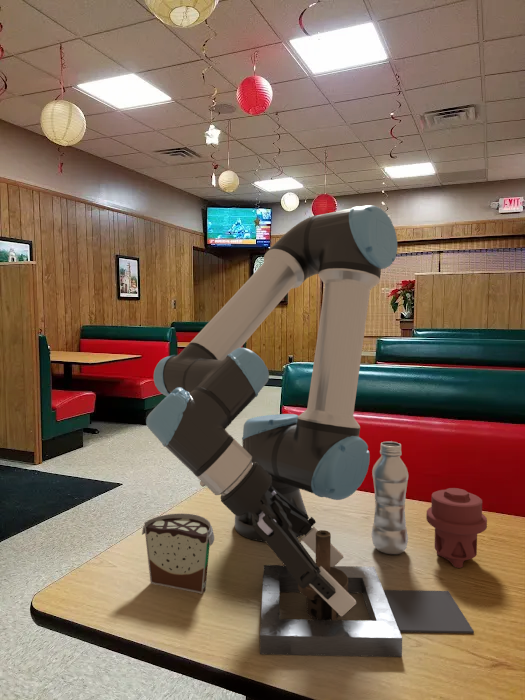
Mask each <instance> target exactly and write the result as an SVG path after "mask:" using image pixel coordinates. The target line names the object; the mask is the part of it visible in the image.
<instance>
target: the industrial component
mask: <svg viewBox="0 0 525 700" xmlns="http://www.w3.org/2000/svg"><path fill="white" fill-rule="evenodd" d="M331 538H332V537H331V532H330V531H328V530H325V529H324V530H318V531H317V532H316V554H315V563H316V564H317V566H318V567H320V566H322V567H323V568H324V569H325V570H326V571H327V572H328V573H329V574H330V575H331V576H332V577H333V578H334V579H335V580H336V581H337V582H338V583H339V584H340V585H341V586H342V587H343V588H344V589H345V590H346V591H347V592H348V577H347V576H346V574H345V573H344V572H342V571H341V570H339V569H337V568H334V567H330V547H331V545H330V544H332V543H331ZM306 572H307V571H306ZM306 572H305V573H306ZM298 589H299V591H300V592H299V593H300V594H301V595H303V597H305V598H306V614H307V615H308V616H309V617H310V618H312V620H337V618H338V617H339V616H340V615H339V614H338V613H337V612H336V611H335V610H334V609H333V608H332V607H331V606H330V605H329V604H328V603H327V602H326V601H325V600H324V599H323V598H322V597H321V596H320V595H319V594H318V593H317V592H316V591H315V590H314V589H313V588H312V587H311V586H310V585H308V586H307V587H306V588H301V587H300V586H299V583H298Z"/></svg>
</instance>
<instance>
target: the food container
mask: <svg viewBox="0 0 525 700" xmlns="http://www.w3.org/2000/svg"><path fill="white" fill-rule="evenodd" d="M141 531H142V532H141V535H145V543H146V544H145V545H146V554H147V563H148V564H147V565H148V573H149V581H150V584H152V585H157V586H161V587H166V588H171V589H172V588H173V589H177V590H181V591H185V592H192V593H197V594H202V595H203V594H204V593H205V591H206V587H207V579H208V568H209V557H210V546H212V545H213V543H214V541H215V534H214V530H213V526H212V525H211V522H210V521H209V520H208V519H207V518H205V517H203V516H200V515H199V514H198V515H197V514H192V513H170V514H169V513H167V514H162V515H160V516H155V517H153V518H150V519H149V520H147V521H145V522H144V523H143V527H142V530H141Z"/></svg>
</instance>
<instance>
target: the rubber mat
mask: <svg viewBox="0 0 525 700" xmlns="http://www.w3.org/2000/svg"><path fill="white" fill-rule="evenodd" d="M383 590H384V593H385V596H386V598H387V601H388V603H389V606H390V608H391V611H392V613H393V616H394V618H395V621H396V623H397V626H398V629H399V631H400V633H424V634H425V633H428V634H429V633H431V634H436V633H437V634H440V633H441V634H475V631H474V629H473V627H472V626H471V624H470V623H469V621H468V620H467V618H466V617H465V615H464V614H463V611H462V610H461V609H460V607H459V605H458V604H457V602H456V600H455V599H454V598H453V596H452V594H451V593H450V591H449V590H424V589H423V590H421V589H419V590H418V589H417V590H416V589H415V590H413V589H412V590H411V589H410V590H409V589H408V590H407V589H405V590H404V589H383Z"/></svg>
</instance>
